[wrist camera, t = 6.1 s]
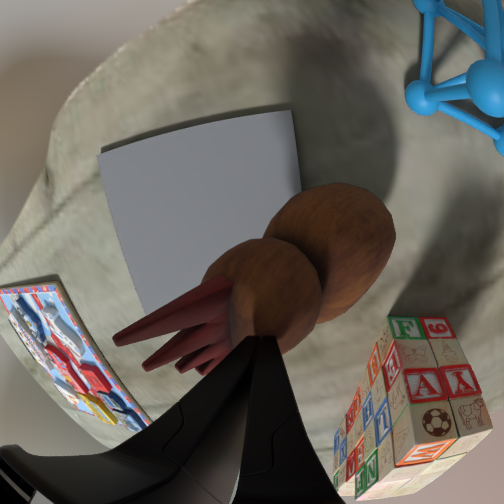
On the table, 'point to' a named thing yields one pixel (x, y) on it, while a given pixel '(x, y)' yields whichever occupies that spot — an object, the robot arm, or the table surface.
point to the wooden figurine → (276, 280)
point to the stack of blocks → (409, 412)
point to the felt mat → (197, 197)
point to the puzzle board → (69, 353)
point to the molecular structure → (477, 76)
